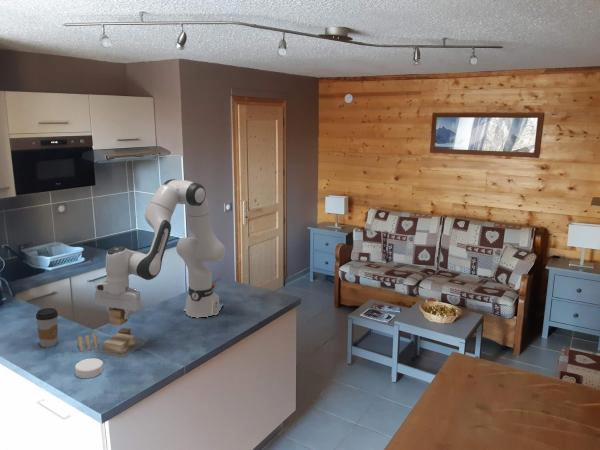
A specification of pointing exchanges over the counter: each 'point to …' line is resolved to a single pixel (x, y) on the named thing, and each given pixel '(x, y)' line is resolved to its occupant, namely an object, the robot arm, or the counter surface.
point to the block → (125, 331)
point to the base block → (119, 343)
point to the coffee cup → (47, 326)
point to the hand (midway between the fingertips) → (118, 317)
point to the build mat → (137, 344)
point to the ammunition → (87, 342)
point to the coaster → (89, 368)
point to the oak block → (117, 316)
